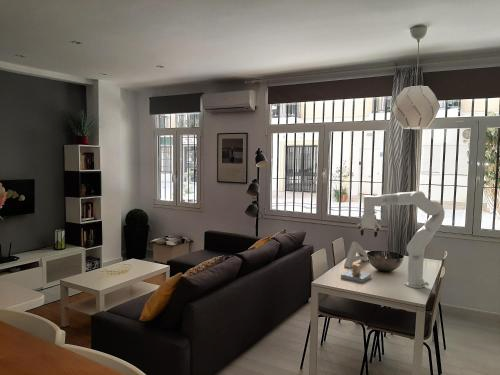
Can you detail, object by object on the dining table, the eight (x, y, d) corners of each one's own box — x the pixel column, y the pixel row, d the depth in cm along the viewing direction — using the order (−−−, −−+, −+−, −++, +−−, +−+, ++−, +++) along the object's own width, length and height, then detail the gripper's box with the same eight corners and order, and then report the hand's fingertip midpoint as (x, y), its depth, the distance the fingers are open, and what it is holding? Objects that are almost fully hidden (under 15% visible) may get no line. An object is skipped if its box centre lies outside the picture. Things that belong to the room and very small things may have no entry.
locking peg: (359, 278, 281) (360, 264, 280) (357, 279, 278) (358, 265, 277) (354, 277, 284) (355, 263, 283) (352, 278, 281) (352, 264, 280)
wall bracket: (362, 282, 324) (348, 267, 305) (357, 280, 327) (343, 266, 308) (370, 258, 332) (357, 242, 313) (365, 257, 335) (352, 241, 316)
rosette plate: (370, 277, 282) (371, 273, 282) (362, 283, 270) (362, 279, 270) (350, 273, 292) (350, 269, 292) (340, 278, 280) (340, 274, 279)
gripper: (382, 212, 280) (382, 236, 281) (359, 211, 290) (359, 234, 291) (379, 213, 274) (379, 238, 275) (355, 212, 284) (355, 235, 285)
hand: (368, 236), depth 283 cm, fingers open, 9 cm apart
